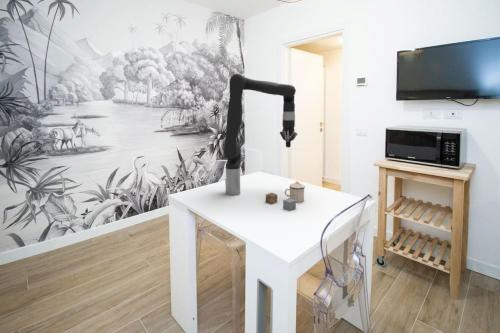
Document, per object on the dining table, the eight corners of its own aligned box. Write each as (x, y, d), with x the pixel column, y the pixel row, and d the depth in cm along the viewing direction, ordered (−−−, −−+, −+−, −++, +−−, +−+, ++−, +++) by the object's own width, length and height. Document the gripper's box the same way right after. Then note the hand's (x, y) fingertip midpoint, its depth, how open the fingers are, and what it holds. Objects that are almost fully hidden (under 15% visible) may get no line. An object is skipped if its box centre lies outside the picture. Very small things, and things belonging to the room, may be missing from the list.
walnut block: (265, 202, 163) (265, 194, 162) (271, 200, 166) (271, 192, 165) (271, 204, 160) (271, 196, 158) (277, 202, 163) (277, 194, 162)
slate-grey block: (283, 208, 153) (283, 200, 152) (288, 206, 156) (289, 198, 155) (289, 211, 149) (290, 202, 148) (295, 208, 153) (295, 200, 152)
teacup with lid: (302, 197, 171) (302, 179, 168) (305, 202, 162) (306, 183, 160) (283, 197, 171) (283, 179, 168) (285, 202, 162) (286, 184, 159)
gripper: (276, 119, 168) (276, 146, 172) (293, 119, 159) (292, 149, 163) (284, 118, 173) (284, 145, 177) (301, 119, 164) (300, 147, 168)
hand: (288, 147), depth 170 cm, fingers closed
